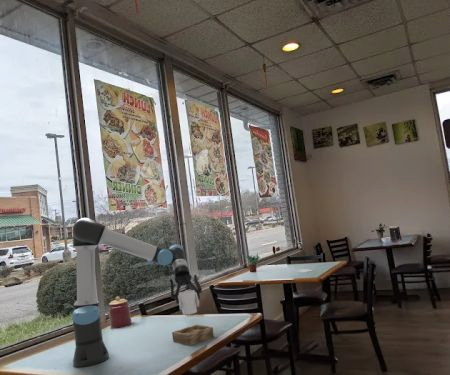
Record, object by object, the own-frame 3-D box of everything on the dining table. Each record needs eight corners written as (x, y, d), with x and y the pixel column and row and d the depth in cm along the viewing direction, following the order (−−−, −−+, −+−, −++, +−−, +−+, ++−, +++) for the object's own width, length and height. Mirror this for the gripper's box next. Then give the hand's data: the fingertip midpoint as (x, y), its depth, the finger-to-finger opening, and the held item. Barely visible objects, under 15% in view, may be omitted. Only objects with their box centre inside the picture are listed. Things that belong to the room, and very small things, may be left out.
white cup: (199, 310, 197) (196, 289, 198) (196, 313, 189) (193, 292, 190) (183, 312, 198) (180, 291, 199) (180, 316, 190) (177, 294, 191)
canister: (108, 326, 253) (105, 297, 255) (129, 321, 259) (126, 293, 260) (112, 329, 241) (108, 299, 243) (133, 324, 247) (130, 295, 249)
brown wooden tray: (189, 345, 182) (187, 335, 183) (173, 341, 193) (172, 332, 194) (213, 336, 191) (212, 327, 192) (197, 333, 202) (196, 324, 202)
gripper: (160, 268, 203) (167, 306, 186) (200, 261, 208) (211, 297, 191) (161, 278, 207) (168, 315, 190) (200, 271, 212) (210, 307, 195)
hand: (189, 306), depth 190 cm, fingers closed on white cup, 8 cm apart
